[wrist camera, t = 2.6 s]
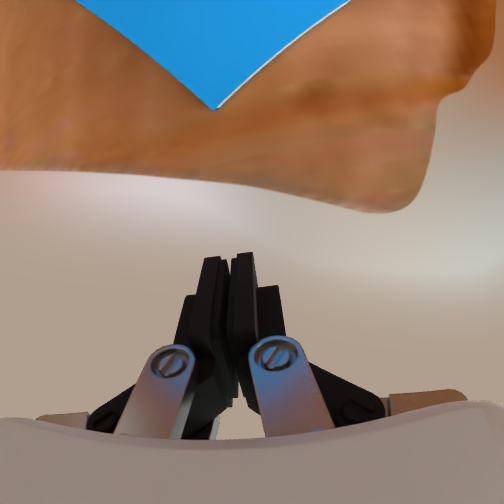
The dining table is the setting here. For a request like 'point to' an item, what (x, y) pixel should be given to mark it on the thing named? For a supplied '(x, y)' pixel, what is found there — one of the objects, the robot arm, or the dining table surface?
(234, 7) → the book
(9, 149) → the dining table surface
